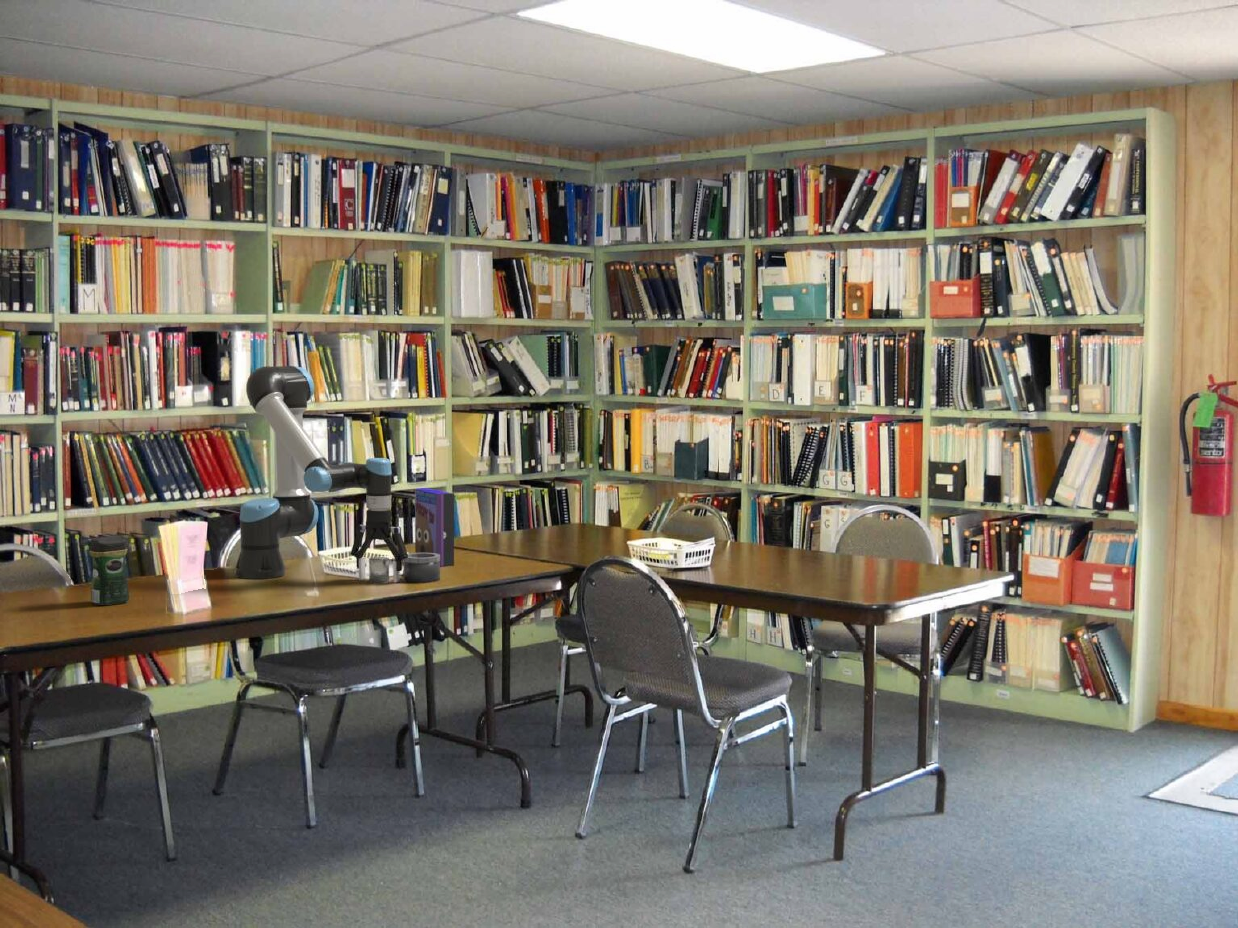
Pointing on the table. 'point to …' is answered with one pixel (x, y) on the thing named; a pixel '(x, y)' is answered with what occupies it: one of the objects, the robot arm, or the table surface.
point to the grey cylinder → (379, 569)
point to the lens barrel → (422, 567)
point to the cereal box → (435, 524)
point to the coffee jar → (109, 570)
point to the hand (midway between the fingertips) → (379, 580)
